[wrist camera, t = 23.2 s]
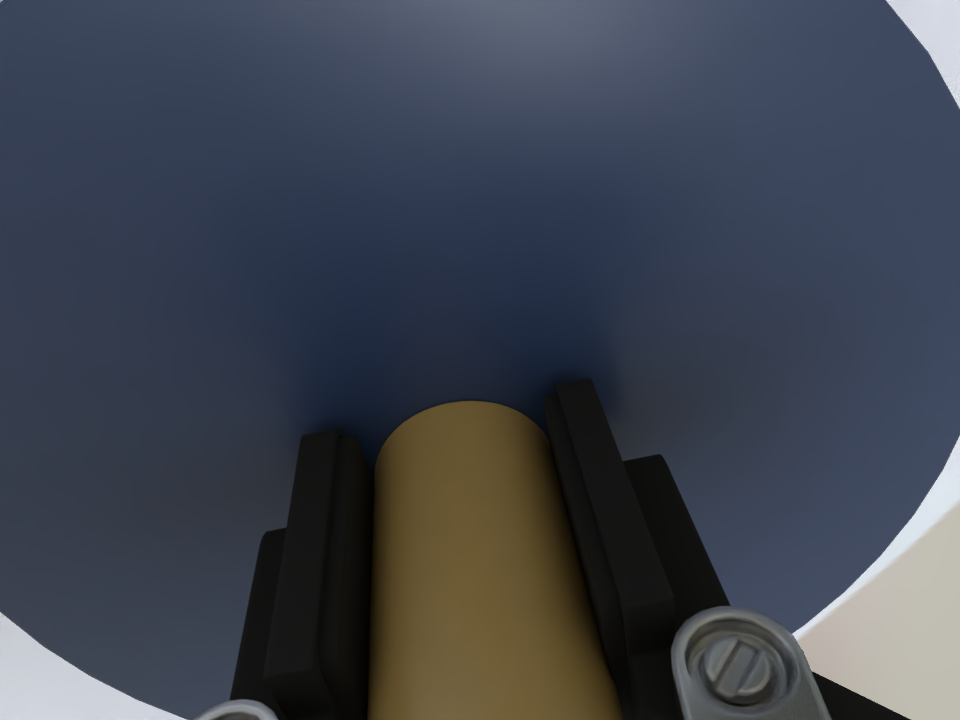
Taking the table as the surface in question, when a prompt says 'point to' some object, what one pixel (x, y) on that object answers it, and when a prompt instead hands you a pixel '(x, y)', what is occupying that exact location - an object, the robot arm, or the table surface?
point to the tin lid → (459, 314)
